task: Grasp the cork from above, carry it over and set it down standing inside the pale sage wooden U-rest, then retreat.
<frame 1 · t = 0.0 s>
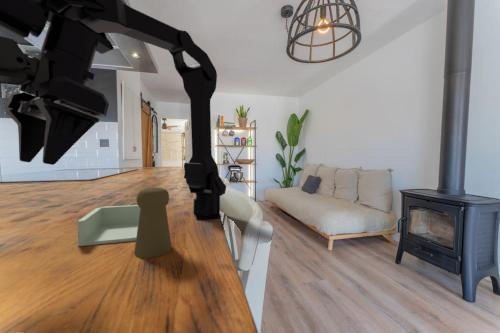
hand: (35, 162, 30), 15 cm above the table, tool pointing down, fingers open, 9 cm apart
cork: (153, 251, 39), on the table
u rest: (120, 232, 47), on the table
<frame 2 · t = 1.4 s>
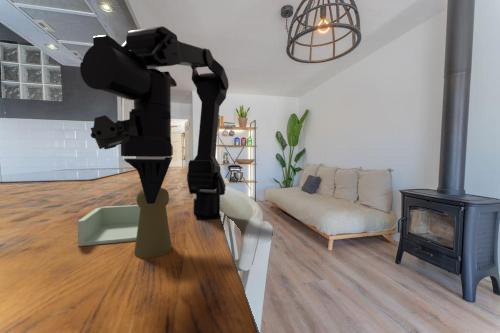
hand: (153, 197, 38), 9 cm above the table, tool pointing down, fingers open, 9 cm apart
nothing on the table moved.
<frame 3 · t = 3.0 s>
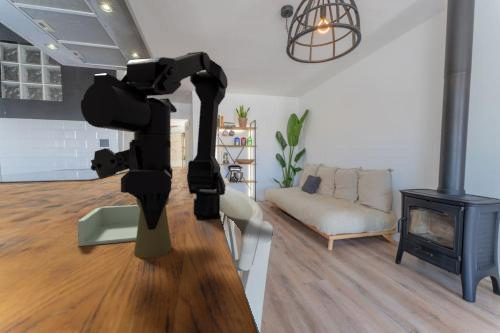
hand: (153, 224, 38), 5 cm above the table, tool pointing down, fingers closed on cork, 4 cm apart
cork: (153, 251, 39), on the table, touching gripper
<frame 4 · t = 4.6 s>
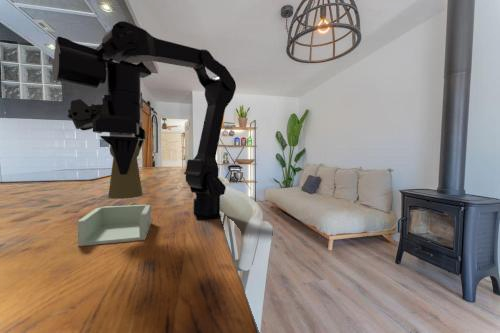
hand: (125, 173, 44), 13 cm above the table, tool pointing down, fingers closed on cork, 4 cm apart
cork: (126, 196, 44), point 8 cm above the table, touching gripper
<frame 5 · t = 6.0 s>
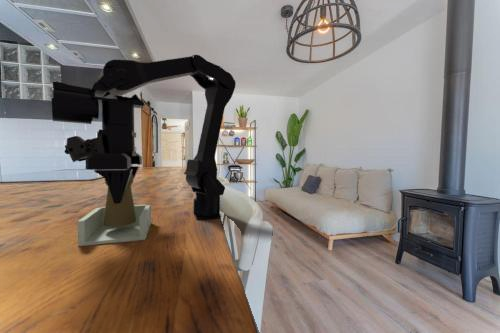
hand: (120, 200, 46), 7 cm above the table, tool pointing down, fingers closed on cork, 4 cm apart
cork: (120, 223, 46), point 2 cm above the table, touching gripper
when the fingers open (7 cm above the table, at t = 6.7 s): cork drops 2 cm, resting on u rest.
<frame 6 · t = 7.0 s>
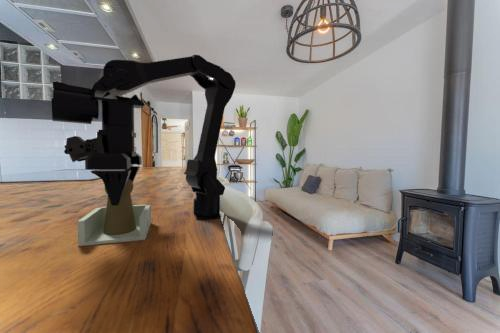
hand: (119, 201, 46), 7 cm above the table, tool pointing down, fingers open, 7 cm apart
cork: (120, 230, 47), resting on u rest
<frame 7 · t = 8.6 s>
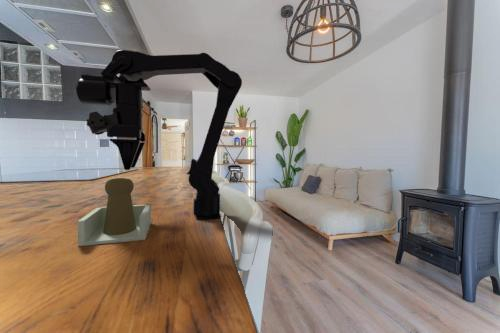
hand: (130, 168, 56), 13 cm above the table, tool pointing down, fingers open, 9 cm apart
nothing on the table moved.
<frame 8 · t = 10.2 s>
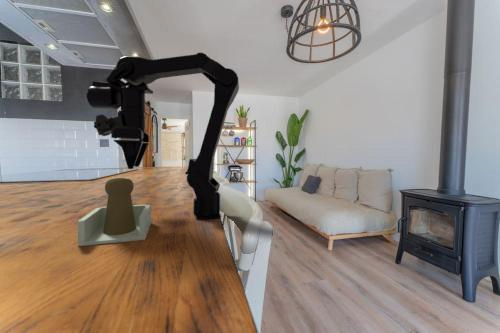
hand: (133, 167, 59), 13 cm above the table, tool pointing down, fingers open, 9 cm apart
nothing on the table moved.
at the end: cork inside the target area on the u rest (0.2 cm from its centre), point 0.4 cm above the u rest's base; cork tilted 0°; the gripper is holding nothing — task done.
